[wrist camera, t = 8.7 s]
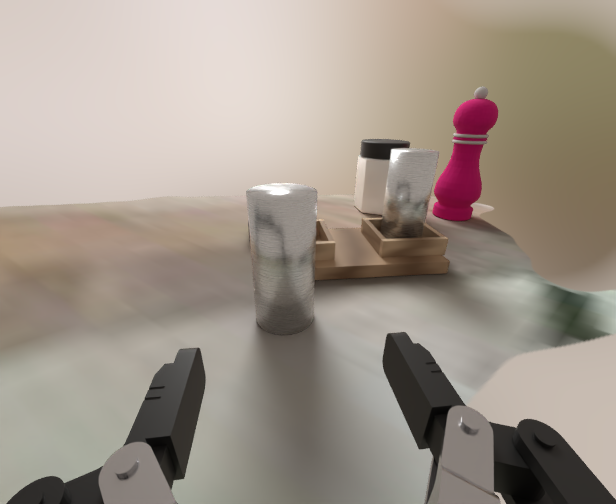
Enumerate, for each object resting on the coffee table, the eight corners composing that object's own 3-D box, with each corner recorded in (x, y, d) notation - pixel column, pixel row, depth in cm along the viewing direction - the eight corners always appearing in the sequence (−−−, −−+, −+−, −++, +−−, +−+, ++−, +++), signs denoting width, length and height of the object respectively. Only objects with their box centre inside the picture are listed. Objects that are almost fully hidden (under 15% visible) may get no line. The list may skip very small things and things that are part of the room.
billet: (255, 337, 23) (243, 201, 18) (257, 300, 27) (248, 183, 22) (317, 332, 23) (322, 199, 18) (309, 297, 28) (312, 182, 23)
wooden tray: (264, 282, 30) (262, 252, 28) (265, 240, 40) (264, 216, 38) (449, 273, 32) (457, 244, 31) (407, 235, 42) (411, 213, 41)
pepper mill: (482, 217, 50) (521, 86, 41) (457, 225, 47) (494, 83, 38) (445, 207, 56) (473, 89, 47) (421, 212, 52) (445, 86, 43)
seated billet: (387, 251, 33) (402, 153, 29) (373, 235, 38) (384, 148, 33) (427, 250, 34) (448, 153, 29) (409, 234, 39) (425, 148, 34)
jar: (403, 205, 56) (414, 140, 51) (399, 218, 49) (411, 144, 44) (358, 200, 59) (364, 138, 54) (348, 211, 52) (354, 141, 47)
